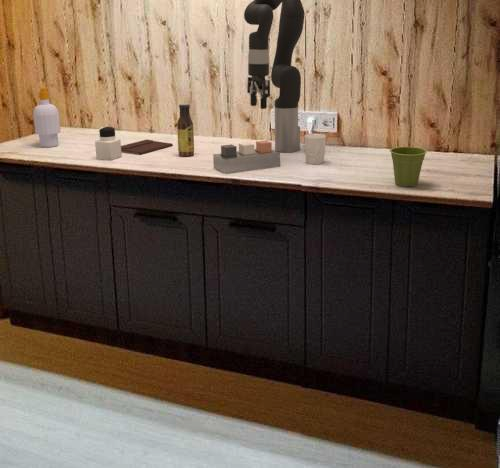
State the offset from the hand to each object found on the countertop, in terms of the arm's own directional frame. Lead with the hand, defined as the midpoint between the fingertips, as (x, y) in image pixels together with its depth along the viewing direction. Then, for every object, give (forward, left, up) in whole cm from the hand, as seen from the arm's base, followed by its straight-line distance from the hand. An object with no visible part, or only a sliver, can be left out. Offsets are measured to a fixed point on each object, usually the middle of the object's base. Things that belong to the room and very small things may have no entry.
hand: (258, 107), depth 269 cm
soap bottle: (+65, -70, -20) cm, 97 cm away
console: (+9, +7, -20) cm, 23 cm away
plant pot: (-26, +55, -20) cm, 64 cm away
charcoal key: (+16, +7, -15) cm, 23 cm away
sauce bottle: (+21, -23, -20) cm, 37 cm away
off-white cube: (+9, +7, -15) cm, 19 cm away
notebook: (+32, -44, -21) cm, 58 cm away
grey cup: (-16, +13, -20) cm, 29 cm away
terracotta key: (+2, +7, -15) cm, 17 cm away
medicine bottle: (+49, -34, -20) cm, 63 cm away
